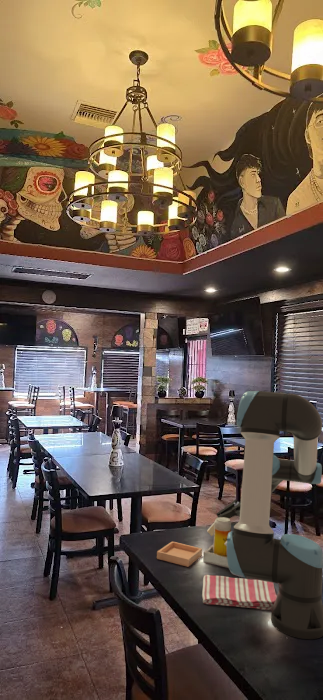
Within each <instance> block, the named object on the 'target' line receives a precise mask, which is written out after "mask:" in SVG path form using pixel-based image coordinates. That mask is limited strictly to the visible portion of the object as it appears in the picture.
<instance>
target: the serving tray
mask: <svg viewBox="0 0 323 700" xmlns="http://www.w3.org/2000/svg"><path fill="white" fill-rule="evenodd" d="M202 556H203V548H202V547H197V546H193V545H188V544H186V543H185V544H184V543H180V542H176V541H171V542H169V543H168V544H166V545H164V546H163V547H162V548H160V549H158V550H157V551H156V559H157V560H161V561H164V562H168V563H173V564H176V565H180V566H184V567H188V568H189V567H190V566H191V565H193V564H194V563H195V562H196V561H197V560H198V559H200V557H202Z"/></svg>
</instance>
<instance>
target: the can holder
mask: <svg viewBox="0 0 323 700" xmlns="http://www.w3.org/2000/svg"><path fill="white" fill-rule="evenodd" d="M202 556H203V558H202V562H203V563H206V564H210V565H214V566H218V567H223V568H226V569H229V567H228V562H227V556H223V555H219V554H214V553H213V544H211V545H210V546H209V547H208V548H206V550H204V551H203V555H202Z"/></svg>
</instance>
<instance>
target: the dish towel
mask: <svg viewBox="0 0 323 700" xmlns="http://www.w3.org/2000/svg"><path fill="white" fill-rule="evenodd" d="M276 592H277V591H276V589H275V583H272V582H266V581H261V580H256V579H250V578H244V577H241V578H240V577H239V578H238V577H229V576H224V575H210V574H205V575H203V578H202V592H201V593H202V594H201V597H202V603H203V604H205V605H215V606H216V605H217V606H225V607H238V608H247V609H248V608H249V609H255V610H263V611H265V610H266V611H272V608H273V605H274V603H275V600H276V597H277V595H278V593H276Z"/></svg>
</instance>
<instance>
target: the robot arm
mask: <svg viewBox="0 0 323 700" xmlns="http://www.w3.org/2000/svg"><path fill="white" fill-rule="evenodd" d="M236 427H237V428H239V429H240V434H241V435H242V437H243V438H244V440H245V442H244V457H243V468H242V479H241V481H242V483H241V493H240V494H241V496H240V501H238V500H237V499H234V500H233V501H232V502H231V503H229V504H228V505H226V506H225V507H224V508H222V509H221V510H220V511H218V512H217V513H215V515H216V516H217V517H225V518H229V519H232V518H233V517H239V520H238V522H236V523H235V525H233V530H231V532H229V533H228V536H227V541H226V542H225V545H226V546H227V562H228V567H229V568H228V570H229V571H230V573H231V574H232V575H233V576H238V577H241V578H243V579H250V580H261V581H266V582H272V583H274V584H278V592H277V597H276V600H275V603H274V605H273V608H272V610H270V621H271V624H272V625H273V627H275V629H277V630H278V631H279V632H281V633H283V634H285V635H287V636H290V637H292V638H295V639H296V638H297V639H303V640H315V639H319V638H323V601H322V600H323V599H322V598H323V597H322V595H323V548H322V547H321V546H320V544H318V543H317V542H315V541H314V540H313V539H310V538H307V537H305V536H302V535H298V534H294V533H289V534H288V533H286V534H282V536H281V537H280V539H278V538H274V535H275V534H274V533H275V531H274V530H273V529H272V528H271V526H270V513H271V498H272V497H271V496H272V493H273V492H274V491H275V490H276V488H278V486H280V484H281V483H282V482H283V481H285V482H287V481H288V482H295V483H303V484H309V485H320V484H321V483H322V475H323V474H322V471H323V470H322V469H323V468H322V467H323V466H322V464H321V463H319V462H318V460H317V459H318V445H319V444H318V443H319V442H318V441H319V437H320V435H321V434H322V431H323V420H322V418H321V415H320V413H319V411H318V410H317V408H316V407H315V405H314V404H312V403H311V401H309V400H308V399H306V398H305V397H303V396H302V395H299V394H296V393H285V392H274V391H263V390H261V391H260V390H253V391H252V390H249V391H245V392H244V393H243V394H242V396H241V397H240V400H239V404H238V408H237V414H236ZM281 432H285V433H291V435H292V436H293V459H285V458H279V457H277V456H276V455H275V454H274V450H275V449H274V447H275V442H276V441H278V439H280V435H281ZM214 523H215V521H214V522H213V523H212V524H211V525H210V526H209V527H208V529H207V530H206V531H207V533H208V534H209V535H210V536H211V537H212V536H214Z"/></svg>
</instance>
